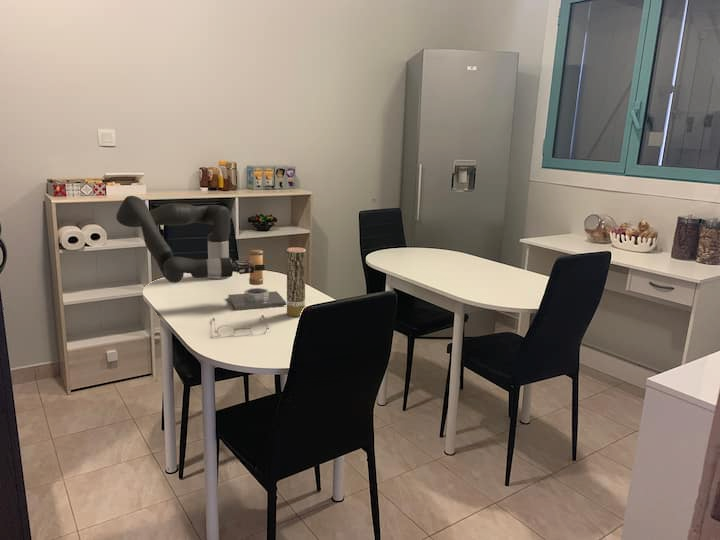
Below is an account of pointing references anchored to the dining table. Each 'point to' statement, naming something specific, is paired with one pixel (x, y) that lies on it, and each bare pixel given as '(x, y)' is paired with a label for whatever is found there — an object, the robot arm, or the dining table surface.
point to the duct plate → (256, 299)
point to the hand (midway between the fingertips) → (262, 265)
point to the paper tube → (295, 280)
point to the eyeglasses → (240, 328)
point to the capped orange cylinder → (256, 259)
